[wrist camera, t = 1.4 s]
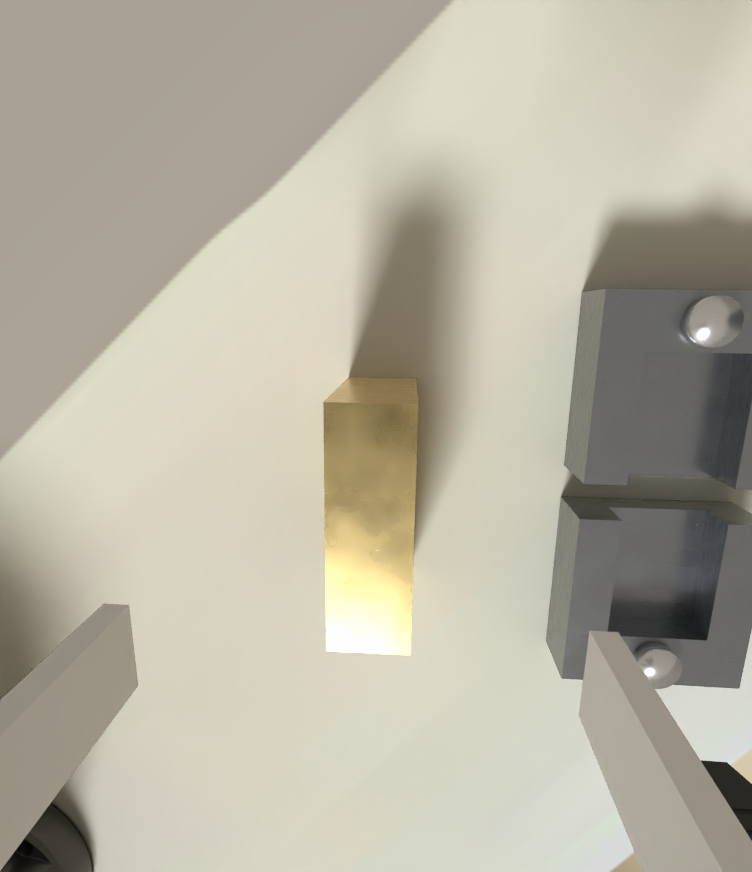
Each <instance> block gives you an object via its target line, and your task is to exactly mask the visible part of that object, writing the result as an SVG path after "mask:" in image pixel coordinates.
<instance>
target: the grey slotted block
mask: <svg viewBox="0 0 752 872" xmlns="http://www.w3.org/2000/svg"><path fill="white" fill-rule="evenodd" d="M564 465H565V466H566V467H567V468H568V469H569V470H570V471H571V472H572V473H573V474H574V475H575V476H576V477H577V478H578V479H579V480H580V481H581V482H582V483H583V484H597V485H627V483H628V475H658V476H690V477H714V478H716V479H717V480H719V481H721V482H723V483H725V484H727V485H729V486H731V487H732V488H734V489H748V490H752V290H700V289H599V290H592V291H585V292H582V298H581V308H580V318H579V328H578V337H577V347H576V357H575V366H574V376H573V386H572V395H571V405H570V415H569V424H568V434H567V444H566V454H565V463H564ZM751 629H752V514H751V513H749V512H747V511H746V510H744V509H742V508H740V507H739V506H737V505H735V504H734V503H726V502H697V501H668V500H640V499H611V498H582V497H561V502H560V512H559V521H558V531H557V541H556V550H555V560H554V570H553V580H552V589H551V599H550V609H549V618H548V628H547V638H546V642H547V644H548V647H549V649H550V652H551V654H552V657H553V659H554V661H555V664H556V666H557V669H558V671H559V673H560V676H561V678H563V679H581V680H583V678H584V670H585V663H586V655H587V647H588V639H589V631H605V632H618V633H619V634H620V636H621V637H622V639H623V640H624V642H625V643H626V645H627V647H628V648H629V650H630V651H631V653H632V654H633V656H634V658H635V659H636V661H637V662H638V664H639V665H640V667H641V668H642V670H643V672H644V673H645V675H646V676H647V678H648V679H649V681H650V683H651V684H652V686H653V687H654V689H662V688H667V687H669V686H671V685H687V686H704V687H722V688H739V687H740V682H741V677H742V672H743V668H744V663H745V658H746V653H747V648H748V644H749V639H750V634H751Z"/></svg>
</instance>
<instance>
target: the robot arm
mask: <svg viewBox="0 0 752 872" xmlns="http://www.w3.org/2000/svg"><path fill="white" fill-rule="evenodd" d="M137 687H138V681H137V672H136V663H135V654H134V646H133V637H132V628H131V619H130V610H129V605H119V604H103V605H102V606H101V607H100V608H99V609H97V610H96V611H95V612H94V613H93V614H92V615H91V616H90V617H89V618H88V619H87V620H86V621H85V622H84V623H82V624H81V625H80V626H79V627H78V628H77V629H76V630H75V631H74V632H73V633H72V634H71V635H70V636H69V637H67V638H66V639H65V640H64V641H63V642H62V643H61V644H60V645H59V646H58V647H57V648H56V649H55V650H53V651H52V652H51V653H50V654H49V655H48V656H47V657H46V658H45V659H44V660H43V661H42V662H41V663H40V664H38V665H37V666H36V667H35V668H34V669H33V670H32V671H31V672H30V673H29V674H28V675H27V676H26V677H25V678H23V679H22V680H21V681H20V682H19V683H18V684H17V685H16V686H15V687H14V688H13V689H12V690H11V691H9V692H8V693H7V694H6V695H5V696H4V697H3V698H2V699H1V700H0V872H92V865H91V860H90V856H89V853H88V850H87V847H86V845H85V843H84V841H83V839H82V838H81V836H80V834H79V833H78V831H77V830H76V829H75V827H74V826H73V825H72V824H71V823H70V821H69V820H68V819H67V818H66V817H65V816H64V815H63V814H62V813H61V812H59V811H58V810H57V809H56V808H55V807H53V806H52V805H51V804H50V803H51V802H52V801H53V799H54V798H55V797H56V795H57V794H58V793H59V791H60V790H61V789H62V787H63V786H64V785H65V783H66V782H67V781H68V779H69V778H70V777H71V775H72V774H73V773H74V771H75V770H76V768H77V767H78V766H79V764H80V763H81V762H82V760H83V759H84V758H85V756H86V755H87V754H88V752H89V751H90V750H91V748H92V747H93V746H94V744H95V743H96V742H97V740H98V739H99V738H100V736H101V735H102V734H103V732H104V731H105V730H106V728H107V727H108V725H109V724H110V723H111V721H112V720H113V719H114V717H115V716H116V715H117V713H118V712H119V711H120V709H121V708H122V707H123V705H124V704H125V703H126V701H127V700H128V699H129V697H130V696H131V695H132V693H133V692H134V691H135V689H136V688H137ZM579 717H580V719H581V722H582V724H583V727H584V729H585V732H586V734H587V737H588V739H589V741H590V744H591V746H592V749H593V751H594V754H595V756H596V759H597V761H598V763H599V766H600V768H601V771H602V773H603V776H604V778H605V781H606V783H607V785H608V788H609V790H610V793H611V795H612V798H613V800H614V803H615V805H616V807H617V810H618V812H619V815H620V817H621V820H622V822H623V825H624V827H625V830H626V832H627V834H628V837H629V839H630V842H631V844H632V847H633V849H634V852H635V854H636V856H637V859H638V861H639V864H640V866H641V869H642V871H643V872H752V784H751V783H750V782H749V781H747V780H746V779H745V778H744V777H743V776H742V775H740V774H739V773H738V772H737V771H736V770H735V769H734V768H733V767H731V766H730V765H729V764H728V763H727V762H713V761H700V759H699V758H698V756H697V754H696V753H695V751H694V750H693V748H692V747H691V745H690V743H689V742H688V740H687V739H686V737H685V736H684V734H683V733H682V731H681V729H680V728H679V726H678V725H677V723H676V722H675V720H674V718H673V717H672V715H671V714H670V712H669V711H668V709H667V708H666V706H665V704H664V703H663V701H662V700H661V698H660V697H659V695H658V693H657V692H656V690H655V689H654V687H653V686H652V684H651V683H650V681H649V679H648V678H647V676H646V675H645V673H644V672H643V670H642V668H641V667H640V665H639V664H638V662H637V661H636V659H635V658H634V656H633V654H632V653H631V651H630V650H629V648H628V647H627V645H626V643H625V642H624V640H623V639H622V637H621V636H620V634H619V633H618V632H605V631H589V639H588V647H587V655H586V663H585V670H584V678H583V686H582V694H581V702H580V709H579Z"/></svg>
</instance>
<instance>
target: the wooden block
mask: <svg viewBox="0 0 752 872" xmlns="http://www.w3.org/2000/svg"><path fill="white" fill-rule="evenodd" d="M418 408H419V403H418V392H417V380H416V379H409V378H362V377H348V378H347V379H346V380H345V381H344V382H343V383H342V384H341V385H340V386H339V387H338V388H337V389H336V390H335V391H334V392H333V393H332V394H331V395H330V396H329V397H328V398H327V399H326V400H325V401H324V487H325V576H326V651H339V652H357V653H376V654H394V655H410V652H411V621H412V591H413V560H414V530H415V499H416V469H417V439H418Z"/></svg>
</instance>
